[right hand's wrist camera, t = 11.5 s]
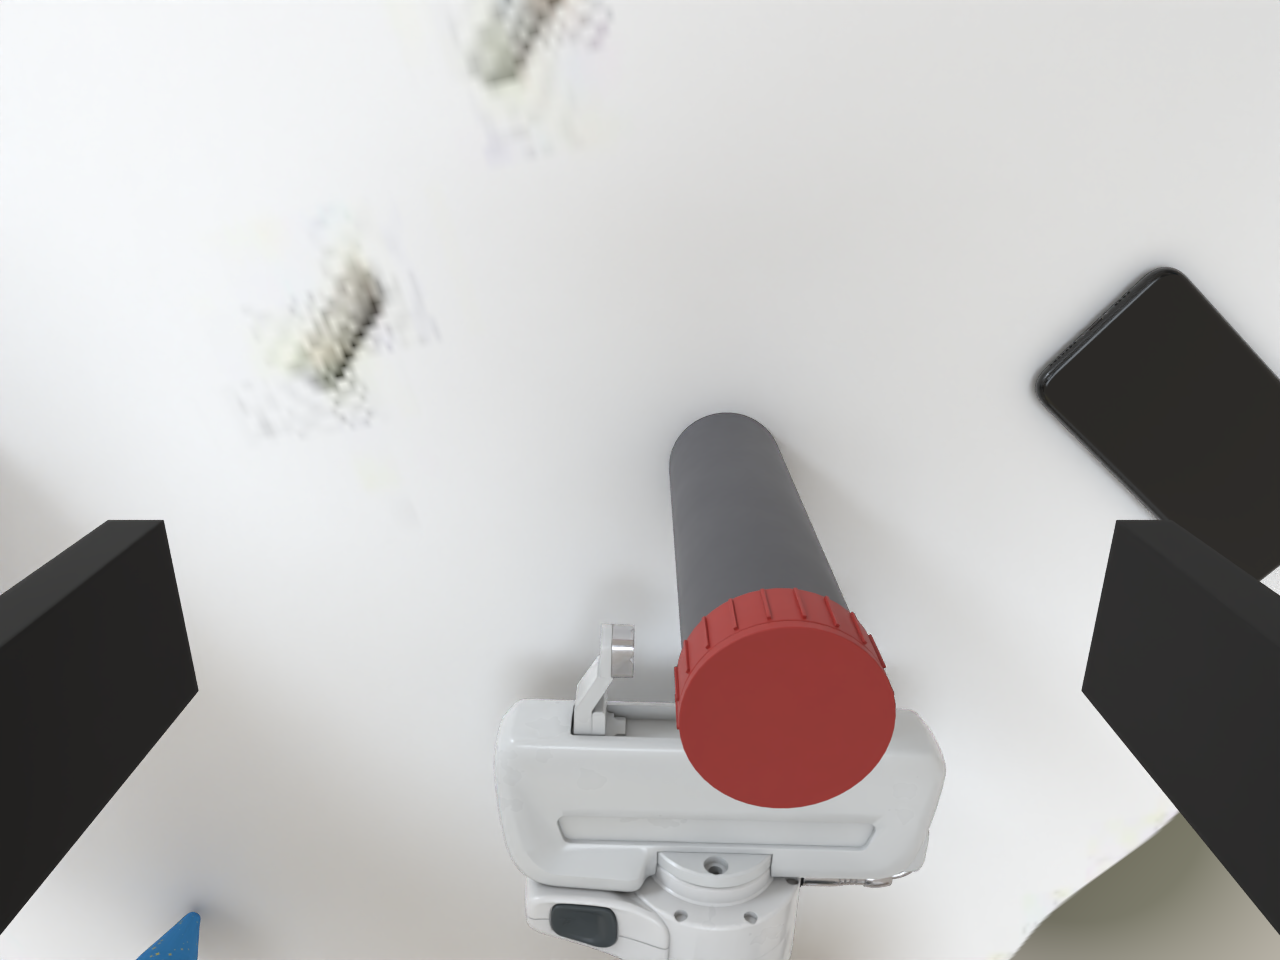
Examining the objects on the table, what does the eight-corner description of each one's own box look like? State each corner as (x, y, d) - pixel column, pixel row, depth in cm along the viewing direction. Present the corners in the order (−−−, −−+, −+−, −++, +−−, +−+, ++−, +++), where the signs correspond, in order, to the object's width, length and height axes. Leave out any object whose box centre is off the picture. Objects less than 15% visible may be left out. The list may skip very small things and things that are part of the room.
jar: (803, 451, 42) (924, 689, 24) (736, 536, 44) (802, 821, 25) (712, 390, 41) (764, 590, 23) (647, 479, 43) (648, 733, 24)
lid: (920, 652, 25) (944, 697, 23) (795, 790, 27) (806, 842, 25) (755, 548, 24) (764, 585, 22) (634, 699, 26) (634, 746, 24)
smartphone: (1021, 385, 41) (1229, 592, 45) (1028, 390, 40) (1240, 600, 44) (1161, 254, 39) (1368, 482, 42) (1173, 256, 38) (1382, 489, 42)
